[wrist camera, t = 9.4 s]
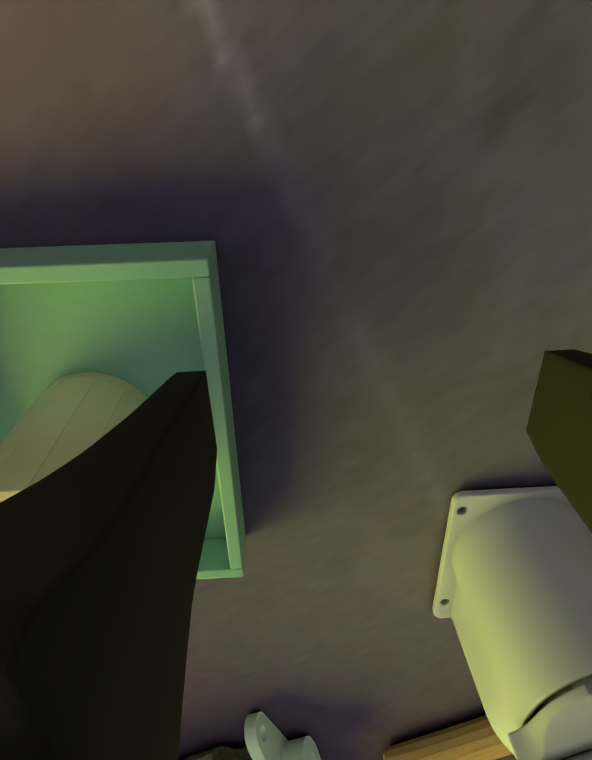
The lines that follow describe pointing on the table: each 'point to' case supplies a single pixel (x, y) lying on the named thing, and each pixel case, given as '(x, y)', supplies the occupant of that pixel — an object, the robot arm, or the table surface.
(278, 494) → the table surface
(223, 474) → the tray
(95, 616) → the robot arm
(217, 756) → the stone block
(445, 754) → the hammer
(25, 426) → the cup
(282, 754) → the mechanical part
